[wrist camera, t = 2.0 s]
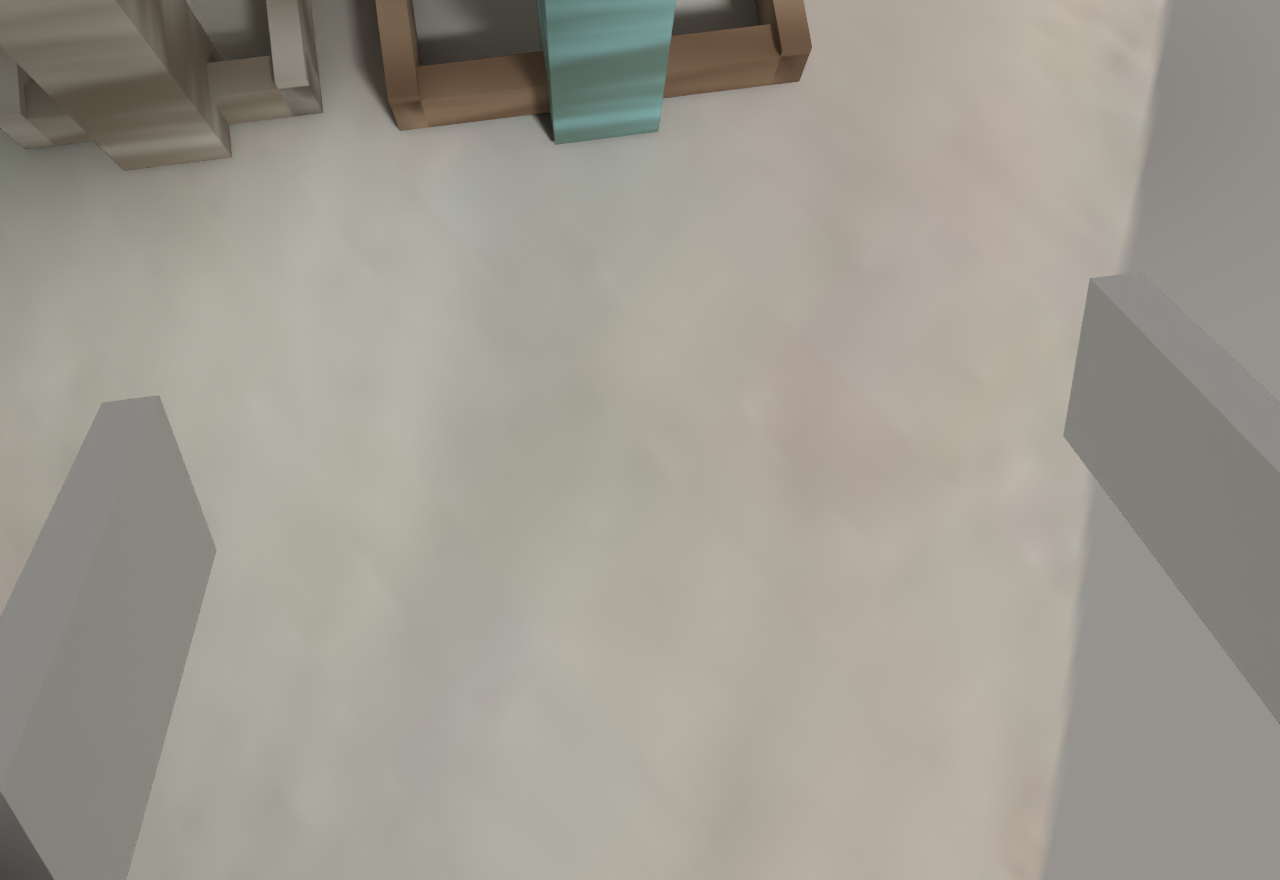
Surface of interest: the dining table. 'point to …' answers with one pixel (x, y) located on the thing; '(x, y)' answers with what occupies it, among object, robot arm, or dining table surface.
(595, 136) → the brown open boxy piece
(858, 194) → the dining table surface
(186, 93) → the block
